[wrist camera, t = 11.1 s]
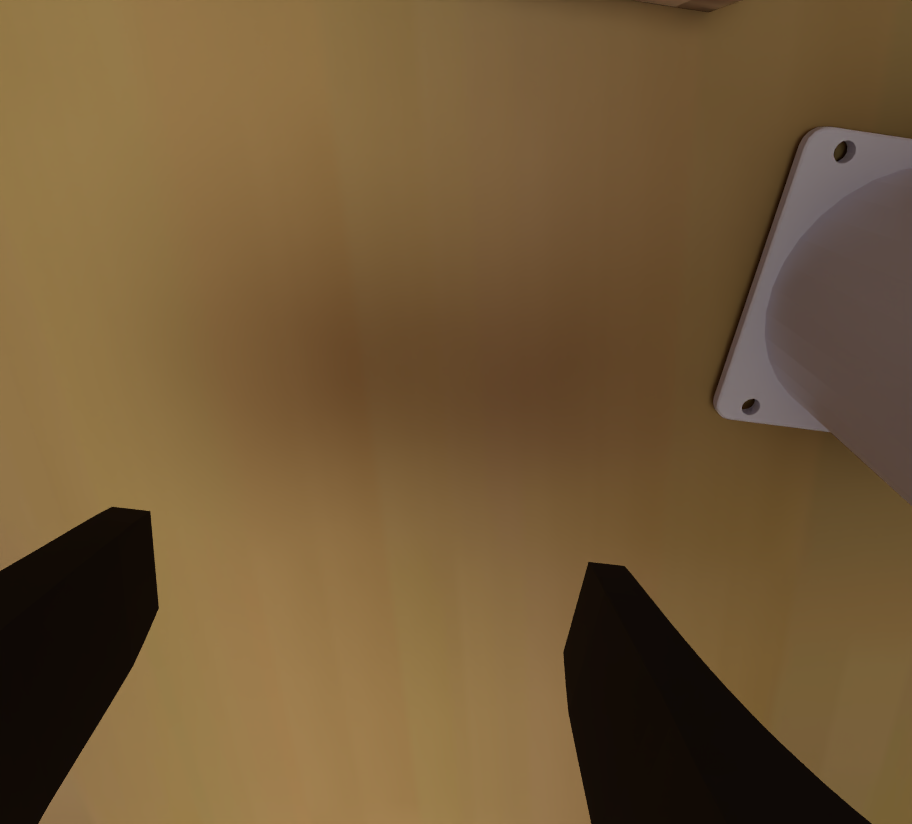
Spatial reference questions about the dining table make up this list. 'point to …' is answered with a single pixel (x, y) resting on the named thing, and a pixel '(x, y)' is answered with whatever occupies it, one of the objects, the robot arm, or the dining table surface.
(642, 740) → the robot arm
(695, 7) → the big crate
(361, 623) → the dining table surface
